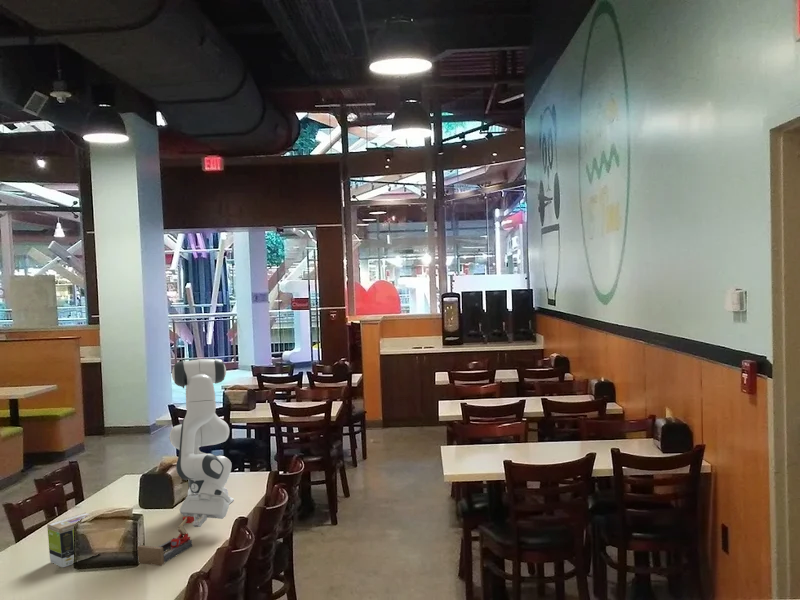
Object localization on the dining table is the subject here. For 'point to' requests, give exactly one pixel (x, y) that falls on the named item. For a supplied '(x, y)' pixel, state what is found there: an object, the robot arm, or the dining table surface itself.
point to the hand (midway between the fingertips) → (196, 526)
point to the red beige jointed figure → (182, 533)
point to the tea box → (63, 540)
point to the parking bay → (160, 552)
